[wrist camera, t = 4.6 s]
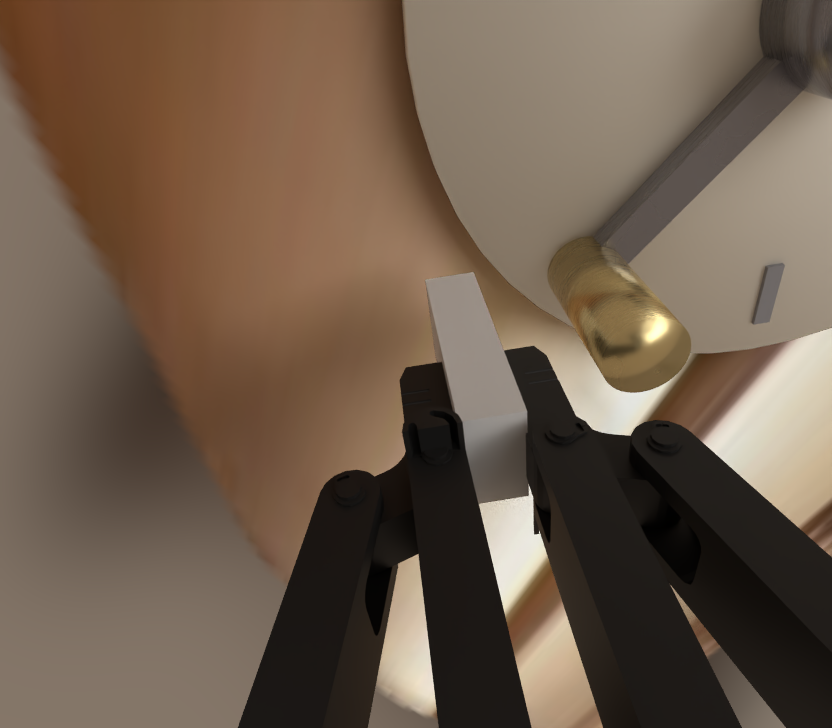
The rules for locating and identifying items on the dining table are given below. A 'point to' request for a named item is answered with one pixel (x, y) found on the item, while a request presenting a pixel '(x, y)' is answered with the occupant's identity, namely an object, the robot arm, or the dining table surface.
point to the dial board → (626, 152)
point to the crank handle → (683, 204)
